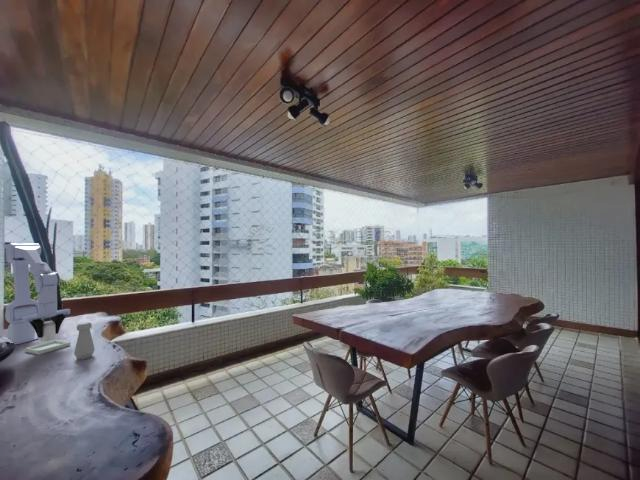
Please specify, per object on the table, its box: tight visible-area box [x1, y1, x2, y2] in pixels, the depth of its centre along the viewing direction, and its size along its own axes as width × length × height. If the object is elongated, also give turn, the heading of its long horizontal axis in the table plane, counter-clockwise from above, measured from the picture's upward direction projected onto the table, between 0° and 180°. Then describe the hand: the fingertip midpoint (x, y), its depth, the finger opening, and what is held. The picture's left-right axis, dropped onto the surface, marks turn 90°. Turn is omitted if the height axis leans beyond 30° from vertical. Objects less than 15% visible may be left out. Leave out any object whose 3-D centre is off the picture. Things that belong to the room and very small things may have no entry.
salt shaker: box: [73, 321, 95, 361], centre depth 103 cm, size 6×6×13 cm
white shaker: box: [39, 320, 57, 342], centre depth 114 cm, size 4×4×7 cm
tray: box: [24, 339, 71, 356], centre depth 114 cm, size 10×10×2 cm
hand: (48, 335), depth 114 cm, fingers closed on white shaker, 4 cm apart
